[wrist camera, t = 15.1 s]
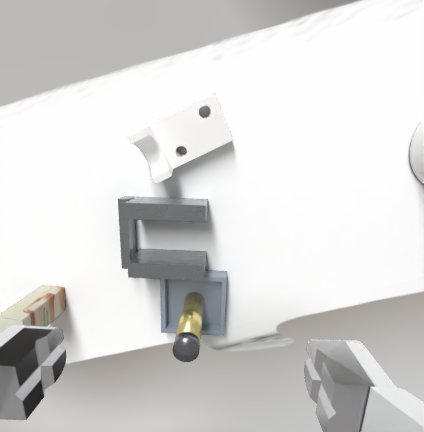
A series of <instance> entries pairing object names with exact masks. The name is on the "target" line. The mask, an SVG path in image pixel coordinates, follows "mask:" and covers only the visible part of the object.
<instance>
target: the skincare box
mask: <svg viewBox="0 0 424 432" xmlns="http://www.w3.org/2000/svg"><path fill="white" fill-rule="evenodd" d="M64 310H65V291H64V287H59V286H50V285H42V286H41V287H39V288H38V289H36V290H35V291H33V292H32V293H30V294H29V295H27V296H26V297H24V298H23V299H21V300H20V301H18V302H17V303H15V304H14V305H12V306H11V307H9V308H8V309H6V310H5V311H3V312H2V313H1V314H0V333H2V332H3V331H4V330H6V329H7V328H8V327H10V326H14V325H25V326H43V327H47V326H48V325H49V324H50V323H51V322H52V321H53V320H54V319H56V318H57V317H58V316H59V315H60V314H61V313H62V312H63V311H64Z"/></svg>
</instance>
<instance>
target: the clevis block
mask: <svg viewBox="0 0 424 432" xmlns="http://www.w3.org/2000/svg"><path fill="white" fill-rule="evenodd" d="M118 208H119V225H120V242H121V259H122V268H125V269H128V277H134V278H158V279H182V280H204V276H205V268H206V251H182V250H157V249H140V250H139V251H138V252H137V253H136V234H135V220H162V221H189V222H206V218H207V209H208V199H185V198H157V197H137V198H134V197H129V196H125V197H122V198H119V199H118Z"/></svg>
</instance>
